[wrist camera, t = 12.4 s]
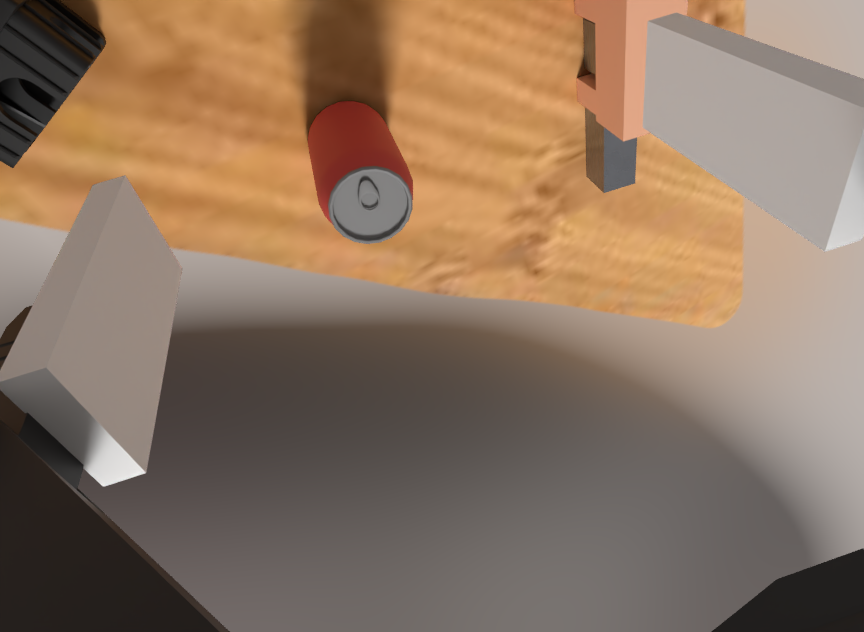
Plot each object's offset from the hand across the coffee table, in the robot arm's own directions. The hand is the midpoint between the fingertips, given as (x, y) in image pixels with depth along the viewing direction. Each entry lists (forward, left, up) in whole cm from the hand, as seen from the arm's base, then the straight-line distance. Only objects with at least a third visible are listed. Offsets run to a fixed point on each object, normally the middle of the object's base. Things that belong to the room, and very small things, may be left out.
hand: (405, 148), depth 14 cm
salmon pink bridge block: (+10, +21, -32) cm, 39 cm away
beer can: (+12, -1, -32) cm, 34 cm away
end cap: (0, -20, -32) cm, 38 cm away
